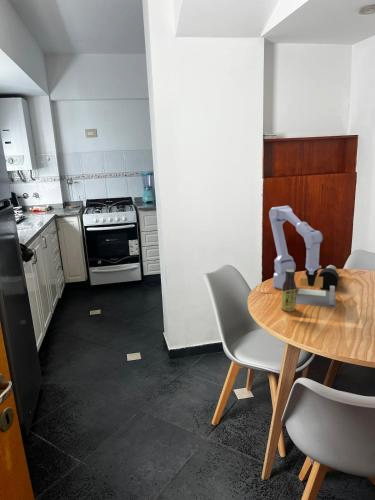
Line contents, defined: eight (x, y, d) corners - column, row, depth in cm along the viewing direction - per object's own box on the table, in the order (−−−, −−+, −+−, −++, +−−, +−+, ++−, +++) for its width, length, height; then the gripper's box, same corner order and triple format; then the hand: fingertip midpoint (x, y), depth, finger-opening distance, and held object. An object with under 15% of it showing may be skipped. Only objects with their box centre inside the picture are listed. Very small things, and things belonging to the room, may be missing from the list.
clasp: (329, 304, 169) (330, 290, 167) (329, 297, 177) (330, 283, 175) (333, 305, 168) (334, 290, 166) (333, 298, 176) (334, 283, 174)
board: (294, 306, 173) (294, 303, 173) (298, 291, 191) (298, 288, 191) (335, 310, 167) (335, 307, 166) (335, 294, 185) (335, 291, 184)
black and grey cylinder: (334, 280, 217) (344, 265, 214) (331, 294, 187) (342, 278, 183) (319, 271, 220) (328, 256, 217) (312, 284, 190) (323, 268, 186)
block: (300, 285, 176) (300, 277, 175) (300, 283, 179) (301, 275, 178) (322, 287, 172) (322, 279, 171) (322, 284, 176) (323, 276, 175)
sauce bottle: (285, 315, 164) (286, 273, 159) (278, 310, 170) (279, 269, 165) (298, 313, 166) (299, 271, 160) (291, 308, 171) (292, 267, 166)
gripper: (321, 261, 164) (319, 290, 168) (322, 253, 177) (320, 279, 181) (304, 260, 167) (303, 288, 170) (306, 252, 180) (305, 278, 183)
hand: (311, 284), depth 176 cm, fingers closed on block, 4 cm apart
